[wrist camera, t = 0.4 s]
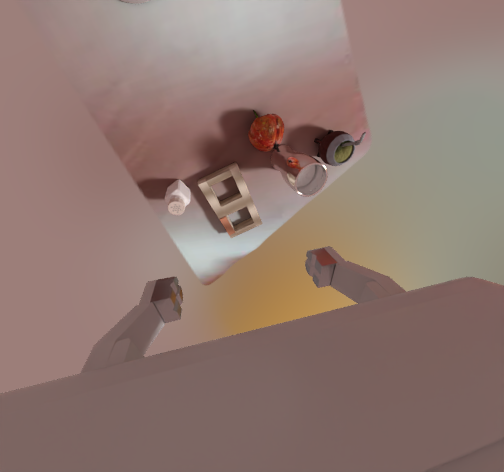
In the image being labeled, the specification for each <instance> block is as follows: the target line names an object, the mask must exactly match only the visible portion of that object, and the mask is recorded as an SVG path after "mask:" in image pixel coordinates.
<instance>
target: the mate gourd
mask: <svg viewBox="0 0 504 472" xmlns="http://www.w3.org/2000/svg"><path fill="white" fill-rule="evenodd" d="M365 133H366V132H364V133H363V134H362V136H361V138H360V140H358V141H354V139H353V138H352V136H351V135H350V134H348V133H345V132H343V131H334V132H333V131H332V130H330V131H329V133H328V135H326V136H325V137H324V138H323V139H322V140H319V139H315V140H314V142H316V143H318V144H320V145H319V153H318V155H317V156H318V157H321V159H322V160H323V161H324V162H325V163H326V164H329V165H332V166H338V165H342V164H344V163H345V162H347V161H348V160H349V159H350V158H351V157H352V155H353V153H354V150H355V146H356V145H359V144H360V143H361V142H362V140H363V138H364V136H365Z"/></svg>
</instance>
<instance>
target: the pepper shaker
mask: <svg viewBox="0 0 504 472" xmlns="http://www.w3.org/2000/svg"><path fill="white" fill-rule="evenodd" d="M165 201H166V202H167V203H168V210H169V212H170V213H172V214H174V215H180V214H182V213H183V212H184V211H185V206H186V205H188V204H189V202H190V189H189V188H188V187H187V186H186V185H185V184H184V183H183V182H182V181H181V180H176V181H175V182H174V183H173V184H171V185H170V186H169V187H168V188H167V191H166V195H165Z"/></svg>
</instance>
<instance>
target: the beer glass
mask: <svg viewBox="0 0 504 472" xmlns="http://www.w3.org/2000/svg"><path fill="white" fill-rule="evenodd" d="M278 148H279V150H280V151H281V152H277V150H276V149H275V150H274V151H273V153H272V155H271V164H272V166H273V167H274V168H275V169H276V170H278V171H280V172H281V175H282V177H283V179H284V180H285V182H286V183H287V184H288V185H289V186H290V187H291V188H292V189H293V190H294V191H296V192H297V193H298V194H299V195H301V196H304V197H309V196H312V195H315V194H316V193H318V192H319V191H320V190H321V189H322V188H323V187H324V185H325V183H326V181H327V177H328V172H327V169H326V167H325V166H324V165H323V164H321V163H320V162H319V161H318V160H316V159H315V158H313V157H312V156H310V155H308V154H305V153H301V152H295V151H294V150H293V149H292V148H291V147H290V146H288V145H280V146H278Z"/></svg>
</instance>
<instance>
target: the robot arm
mask: <svg viewBox="0 0 504 472" xmlns="http://www.w3.org/2000/svg"><path fill="white" fill-rule="evenodd" d="M121 1H124V2H128V3H137V4H138V3H145V2H148V1H150V0H121ZM307 257H308V259H307V260H306V264H305V266H306V270H307V272H308V274H309V275H310V276H312V277H313V281H314V283H315V284H316V286H317V287H318V288H320V287H325V286H330V285H331V287H333V288H335V289H336V290H338V291H339V292H341V293H342V294H344V295H346V296H347V297H349V298H350V299H352V300H353V301H355V302H357V303H358V304H355V305H351V306H348V307H344V308H340V309H335V310H332V311H328V312H324V313H320V314H316V315H312V316H308V317H304V318H300V319H296V320H292V321H288V322H284V323H280V324H276V325H272V326H268V327H264V328H260V329H256V330H252V331H248V332H244V333H240V334H236V335H232V336H229V337H224V338H220V339H216V340H212V341H208V342H204V343H200V344H196V345H192V346H188V347H184V348H180V349H176V350H172V351H168V352H164V353H160V354H156V355H152V356H148V357H144V356H143V355H144V354H145V352H146V351H147V349H148V348H149V346H150V345H151V344H152V342H153V341H154V339H155V338H156V336H157V335H158V333H159V332H160V330H161V329H162V328H163V326H164V325H165V323H167V322H171V321H175V320H179V319H181V310H182V309H181V306H180V305H181V304H182V301H183V293H182V289H181V287H180V286H179V285H178V279H177V277H170V278H164V279H158V280H154V281H148V283H146V286H145V289H144V292H143V295H142V297H141V300H140V303H139V305H137V306H135V307H134V308H133V309H132V310H131V311H130V312H129V313H128V314H127V315H126V316H125V317H123V318H122V319H121V320H120V321H119V322H118V323H117V324H116V325H115V326H114V327H113V328H112V329H111V330H110V331H109V332H108V333H107V334H106V335H104V336H103V337H102V338H101V339H100V340H99V341H98V342H97V343H96V344H95V345H94V347H93V349H92V351H91V353H90V355H89V357H88V359H87V361H86V363H85V365H84V367H83V369H82V371H81V373H80V374H77V375H73V376H69V377H65V378H61V379H57V380H53V381H49V382H45V383H41V384H37V385H33V386H29V387H25V388H21V389H17V390H13V391H9V392H5V393H1V394H0V472H504V286H503V285H500V284H497V283H493V282H490V281H486V280H483V279H479V278H475V277H464V278H459V279H455V280H451V281H447V282H443V283H439V284H435V285H431V286H427V287H423V288H419V289H415V290H411V291H408V292H406V291H405V290H404V289H403V288H401V287H400V286H399V285H398V284H397V283H395V282H394V281H393V280H392V279H391V278H390V277H388V276H385V275H383V274H380V273H378V272H375V271H372V270H370V269H367V268H365V267H362V266H360V265H357V264H354V263H352V262H349V261H345V260H344V259H343V258H342V257H341V256H340V255H339V254H338V253H337V252H336V251H335V250H334V249H333V248H332V247H330V246H328V247H324V248H320V249H314V250H309V251H307Z"/></svg>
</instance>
